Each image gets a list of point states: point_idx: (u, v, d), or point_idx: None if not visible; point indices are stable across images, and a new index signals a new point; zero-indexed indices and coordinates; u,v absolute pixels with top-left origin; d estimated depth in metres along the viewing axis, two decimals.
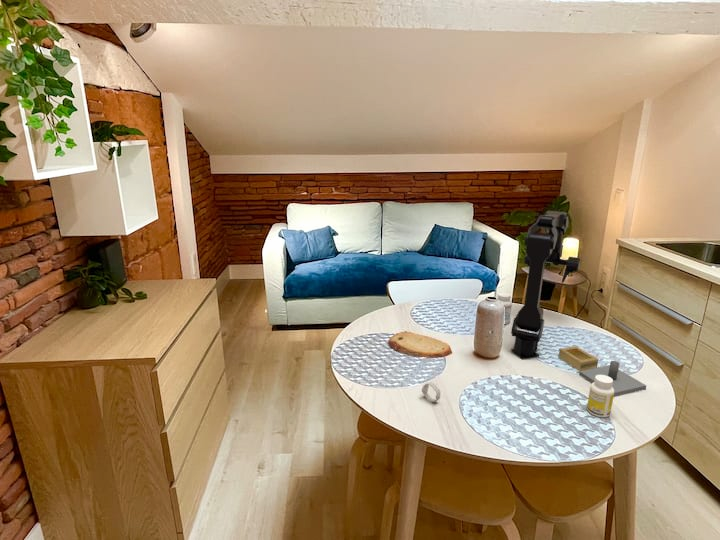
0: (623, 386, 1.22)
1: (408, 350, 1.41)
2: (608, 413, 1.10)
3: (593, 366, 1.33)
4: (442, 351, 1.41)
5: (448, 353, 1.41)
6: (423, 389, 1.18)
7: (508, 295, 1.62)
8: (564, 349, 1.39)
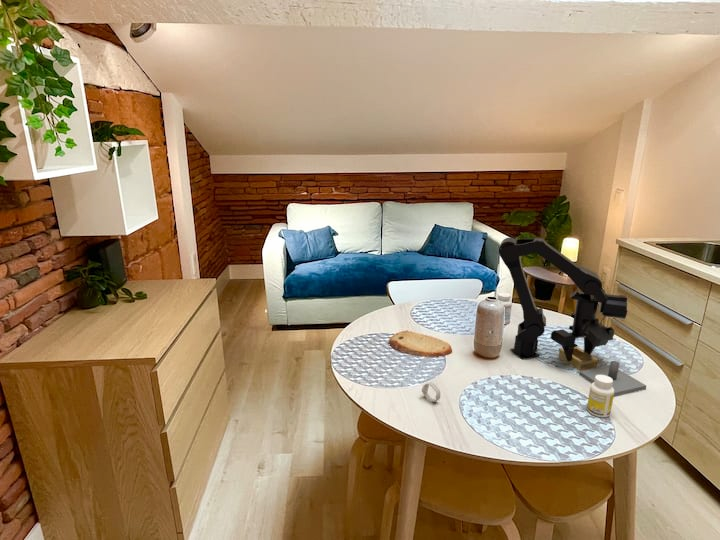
0: (623, 386, 1.22)
1: (409, 349, 1.42)
2: (608, 413, 1.10)
3: (593, 366, 1.33)
4: (443, 350, 1.41)
5: (449, 352, 1.42)
6: (423, 389, 1.18)
7: (508, 295, 1.62)
8: None
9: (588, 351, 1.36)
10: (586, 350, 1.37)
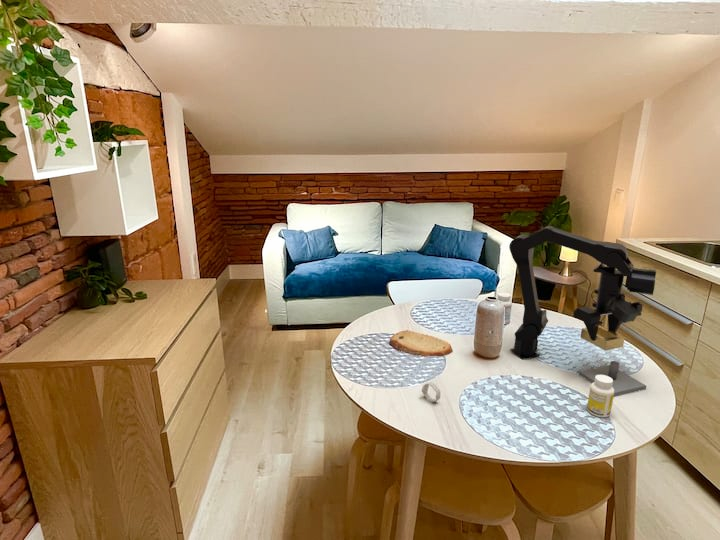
0: (623, 386, 1.22)
1: (409, 349, 1.42)
2: (608, 413, 1.10)
3: (619, 345, 1.24)
4: (443, 350, 1.41)
5: (449, 352, 1.42)
6: (423, 389, 1.18)
7: (508, 295, 1.62)
8: None
9: (613, 329, 1.27)
10: (610, 329, 1.28)
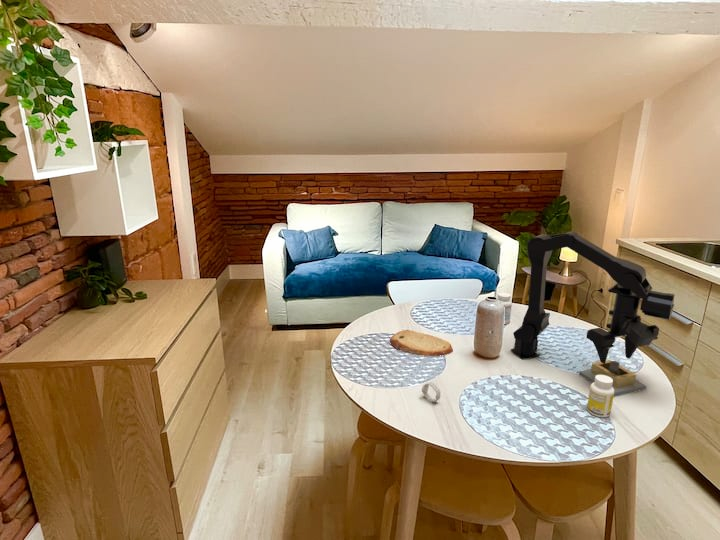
0: None
1: (409, 348, 1.42)
2: (608, 413, 1.10)
3: (630, 382, 1.22)
4: (443, 349, 1.42)
5: (449, 351, 1.42)
6: (423, 389, 1.18)
7: (508, 295, 1.62)
8: (597, 363, 1.28)
9: (630, 351, 1.24)
10: (627, 350, 1.25)
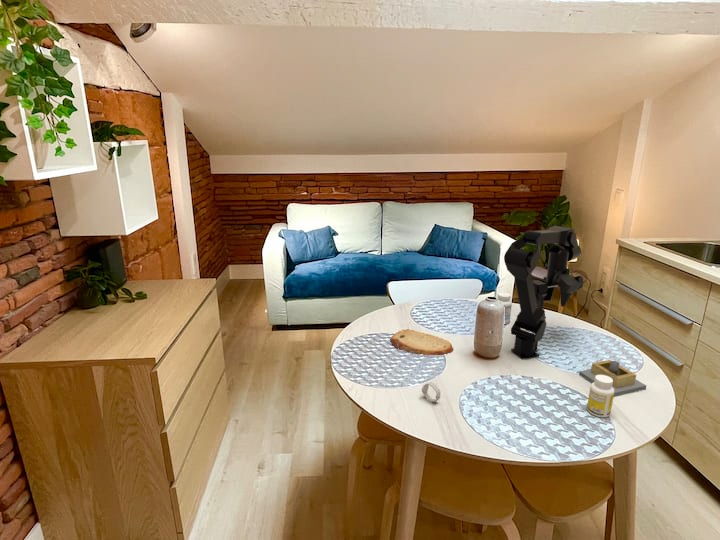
0: None
1: (410, 348, 1.43)
2: (608, 413, 1.10)
3: (630, 382, 1.22)
4: (444, 349, 1.42)
5: (449, 351, 1.43)
6: (423, 389, 1.18)
7: (508, 295, 1.62)
8: (597, 363, 1.28)
9: (564, 300, 1.48)
10: (562, 299, 1.49)
